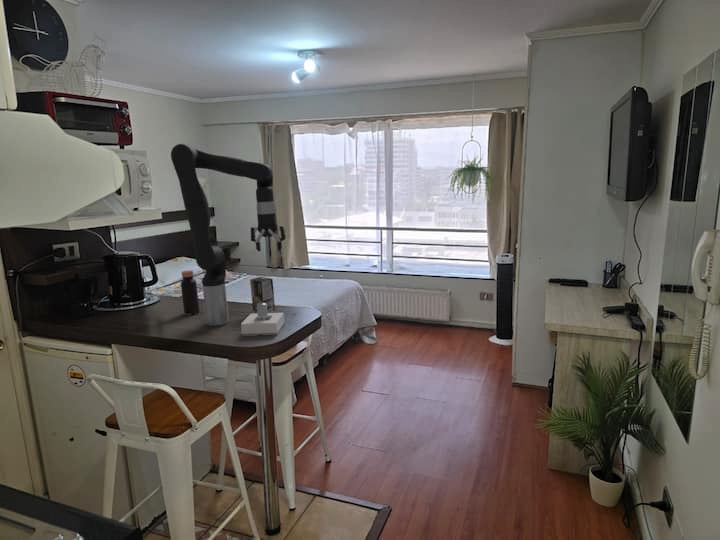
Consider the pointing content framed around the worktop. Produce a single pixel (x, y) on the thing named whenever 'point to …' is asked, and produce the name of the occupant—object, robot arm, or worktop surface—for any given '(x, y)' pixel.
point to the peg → (262, 311)
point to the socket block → (262, 325)
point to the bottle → (189, 293)
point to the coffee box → (262, 293)
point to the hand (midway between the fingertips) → (269, 250)
